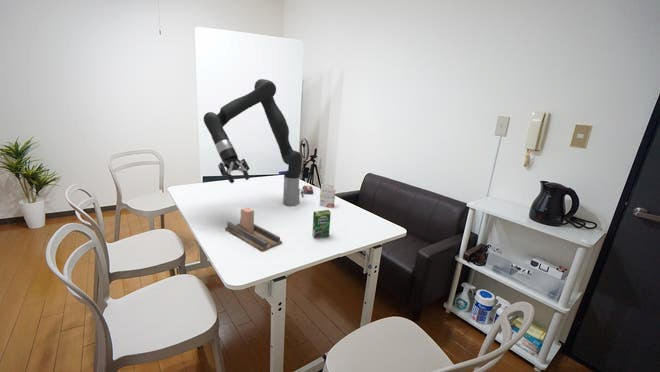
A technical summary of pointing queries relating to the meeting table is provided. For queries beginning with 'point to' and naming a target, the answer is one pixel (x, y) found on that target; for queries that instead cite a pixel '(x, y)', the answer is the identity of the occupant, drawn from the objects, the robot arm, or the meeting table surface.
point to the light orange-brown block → (247, 219)
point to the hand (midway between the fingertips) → (240, 180)
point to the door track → (255, 236)
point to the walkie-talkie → (307, 190)
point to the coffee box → (321, 223)
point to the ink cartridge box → (327, 195)
